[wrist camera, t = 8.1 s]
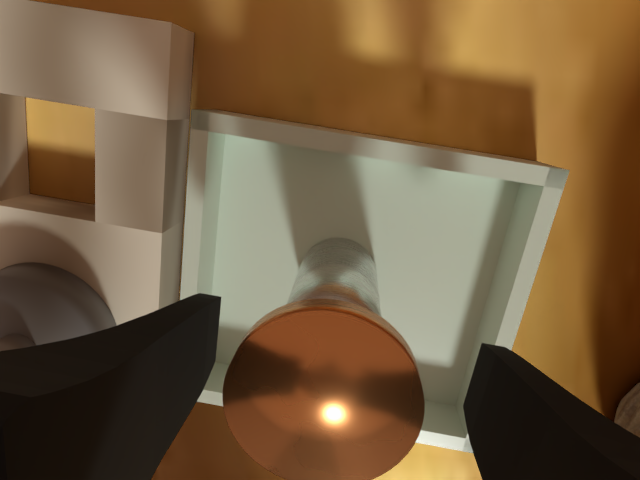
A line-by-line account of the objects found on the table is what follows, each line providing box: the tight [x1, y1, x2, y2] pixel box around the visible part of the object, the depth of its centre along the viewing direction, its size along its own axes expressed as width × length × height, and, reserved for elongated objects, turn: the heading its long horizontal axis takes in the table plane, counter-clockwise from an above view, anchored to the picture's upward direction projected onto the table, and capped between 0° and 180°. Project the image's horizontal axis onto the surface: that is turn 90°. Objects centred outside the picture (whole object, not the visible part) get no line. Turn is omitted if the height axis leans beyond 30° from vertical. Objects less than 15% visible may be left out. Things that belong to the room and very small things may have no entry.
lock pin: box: [223, 237, 425, 480], centre depth 13 cm, size 4×4×8 cm
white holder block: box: [0, 0, 194, 351], centre depth 16 cm, size 9×16×5 cm, turn 171°
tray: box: [180, 109, 569, 453], centre depth 16 cm, size 12×11×2 cm
